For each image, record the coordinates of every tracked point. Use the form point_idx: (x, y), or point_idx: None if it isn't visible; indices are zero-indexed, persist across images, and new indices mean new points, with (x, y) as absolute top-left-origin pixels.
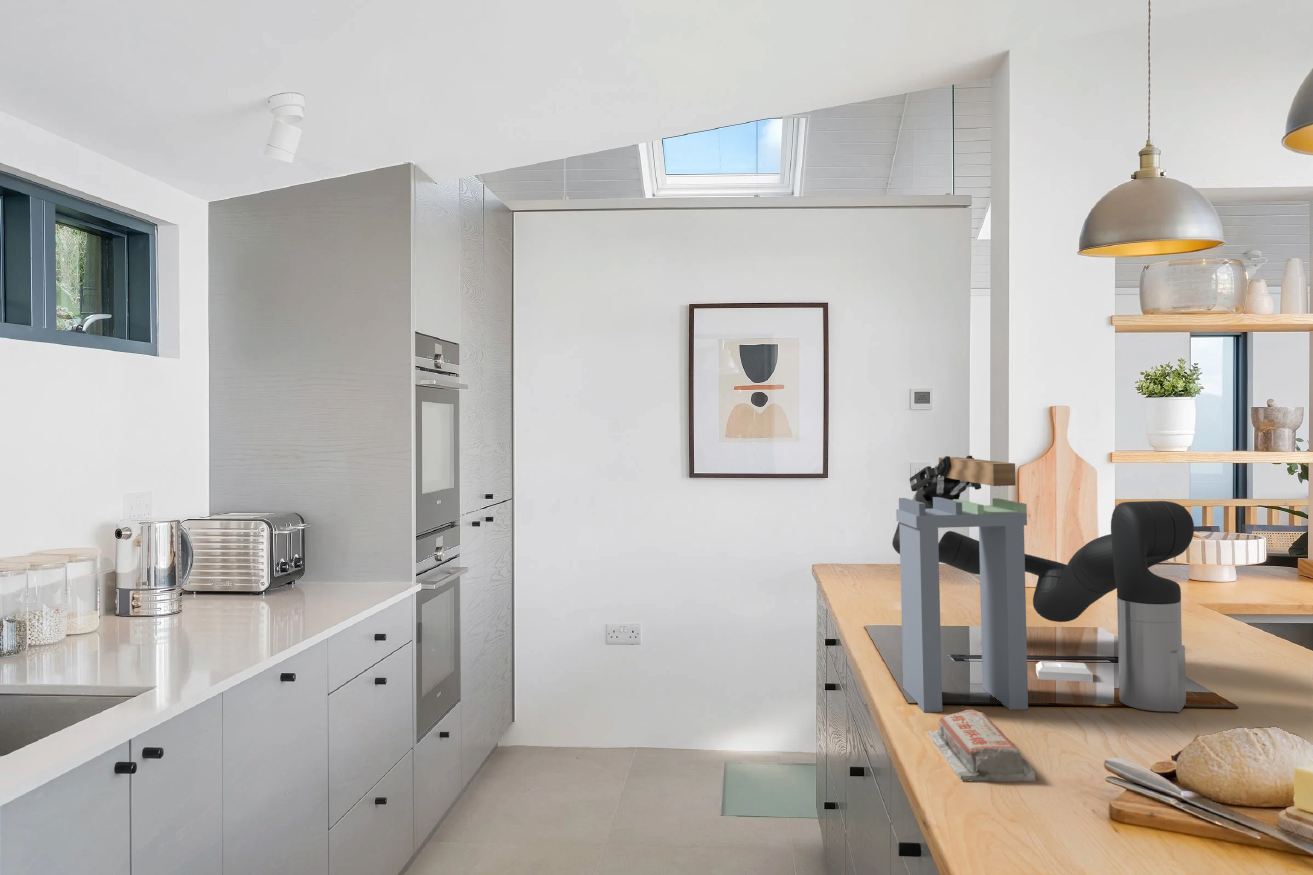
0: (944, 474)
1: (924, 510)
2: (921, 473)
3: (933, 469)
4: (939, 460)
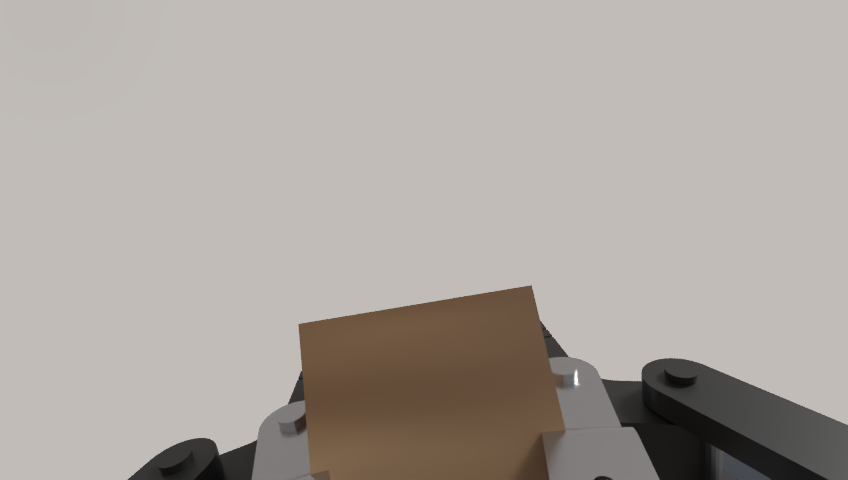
0: None
1: None
2: (809, 448)
3: (619, 395)
4: (532, 322)
